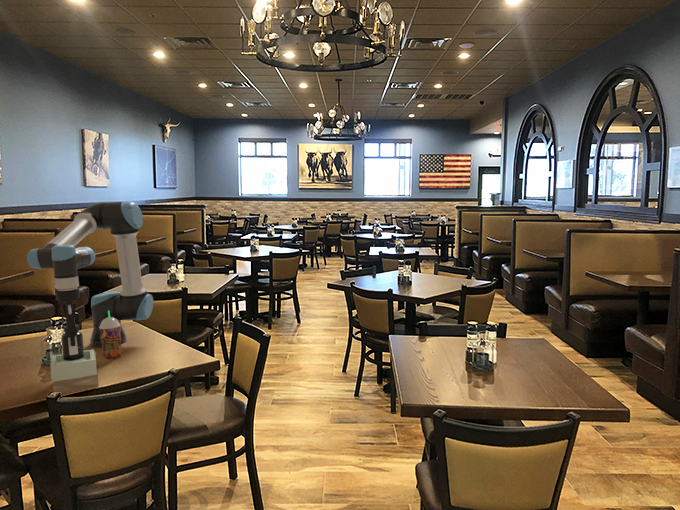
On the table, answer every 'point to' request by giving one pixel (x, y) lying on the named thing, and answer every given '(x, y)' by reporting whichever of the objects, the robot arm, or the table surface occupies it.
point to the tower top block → (73, 367)
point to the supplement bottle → (66, 346)
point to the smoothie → (110, 337)
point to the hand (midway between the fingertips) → (73, 351)
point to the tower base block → (76, 384)
